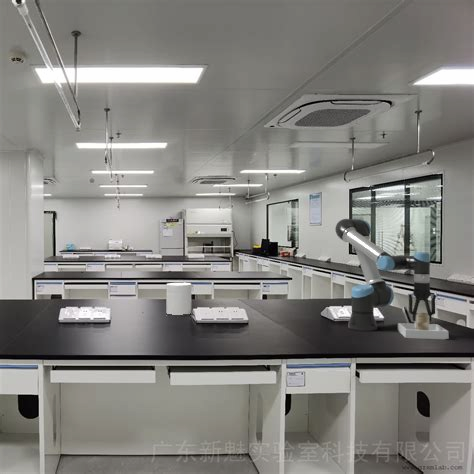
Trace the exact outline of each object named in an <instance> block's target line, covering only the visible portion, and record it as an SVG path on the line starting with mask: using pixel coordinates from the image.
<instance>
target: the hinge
mask: <svg viewBox="0 0 474 474" xmlns="http://www.w3.org/2000/svg"><path fill="white" fill-rule="evenodd" d="M401 310H402V313H403V315H404V318H405V321H406V323H415V321H413V315H412V314H411V313H409V305H406V306H403V307H402V308H401Z"/></svg>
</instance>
